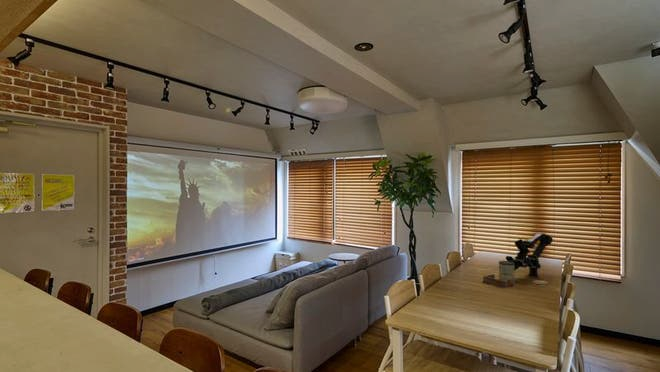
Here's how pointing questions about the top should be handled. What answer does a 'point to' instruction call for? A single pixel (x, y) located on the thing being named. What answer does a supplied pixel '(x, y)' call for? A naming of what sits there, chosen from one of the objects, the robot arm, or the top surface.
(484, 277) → the walnut holder
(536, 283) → the cork mat
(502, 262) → the coffee can
